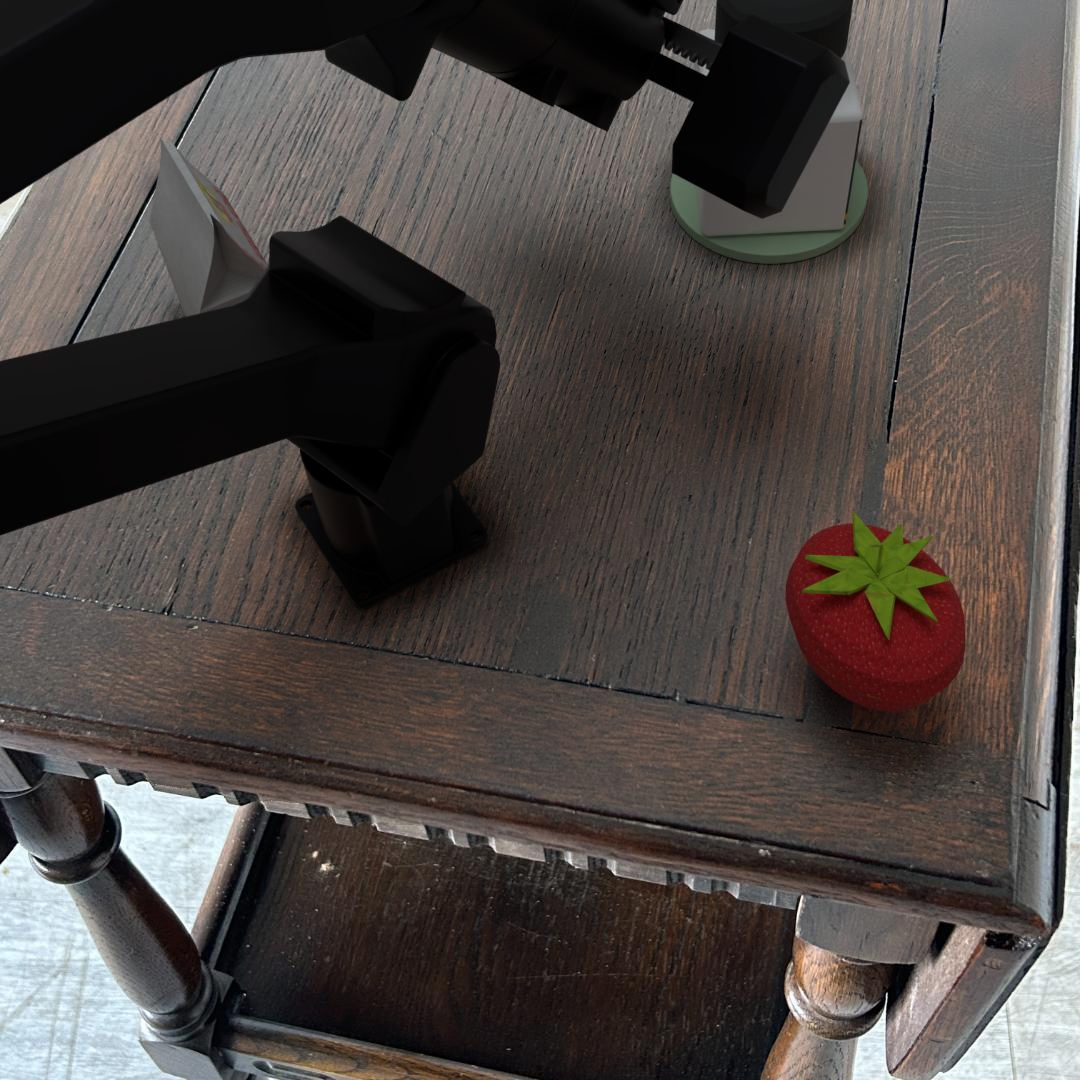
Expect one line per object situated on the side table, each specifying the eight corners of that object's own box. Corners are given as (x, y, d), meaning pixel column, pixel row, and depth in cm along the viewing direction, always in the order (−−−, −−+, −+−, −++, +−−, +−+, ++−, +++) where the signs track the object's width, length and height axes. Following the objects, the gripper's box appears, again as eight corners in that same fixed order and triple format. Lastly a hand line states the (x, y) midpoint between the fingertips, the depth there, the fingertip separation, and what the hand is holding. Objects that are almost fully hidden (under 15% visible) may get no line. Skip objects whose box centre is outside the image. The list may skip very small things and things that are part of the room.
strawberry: (846, 795, 53) (884, 663, 45) (741, 643, 57) (759, 498, 49) (975, 728, 54) (1035, 588, 46) (863, 584, 58) (900, 433, 50)
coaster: (907, 212, 71) (909, 203, 70) (745, 292, 68) (745, 283, 68) (787, 107, 76) (788, 98, 75) (632, 178, 73) (632, 169, 73)
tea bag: (231, 400, 66) (174, 242, 58) (183, 311, 70) (122, 151, 61) (303, 370, 67) (257, 210, 59) (252, 283, 70) (201, 121, 62)
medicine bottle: (846, 232, 69) (880, 20, 59) (701, 240, 70) (712, 30, 60) (827, 137, 73) (856, -76, 64) (690, 145, 74) (698, -66, 64)
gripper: (854, -162, 42) (980, -6, 55) (411, -329, 49) (616, -157, 63) (680, 185, 45) (838, 252, 58) (290, -23, 53) (509, 78, 66)
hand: (696, 94), depth 61 cm, fingers open, 9 cm apart
